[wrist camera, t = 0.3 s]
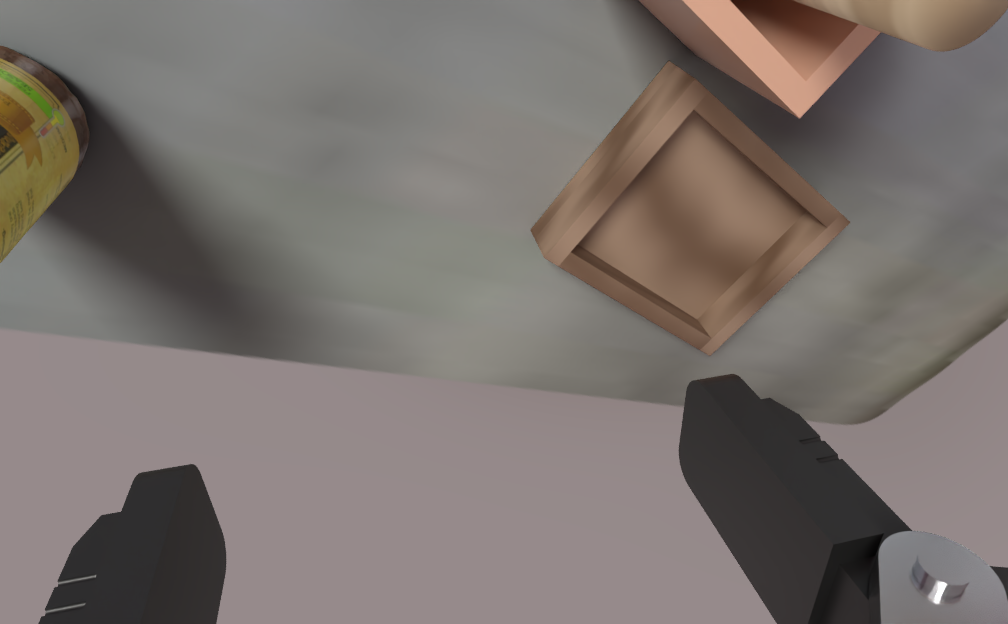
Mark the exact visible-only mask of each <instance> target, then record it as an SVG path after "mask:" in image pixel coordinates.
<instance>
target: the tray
mask: <svg viewBox="0 0 1008 624" xmlns="http://www.w3.org/2000/svg"><path fill="white" fill-rule="evenodd" d="M849 223H850V221H848V220H847V219H846V218H845V217H844V216H843V215H842V214H841V213H840V212H839V211H838V210H837V209H836V208H834V207H833V206H832V205H831V204H830V203H829V202H828V201H827V200H826V199H825V198H824V197H823V196H822V195H820V194H819V193H818V192H817V191H816V190H815V189H814V188H813V187H812V186H811V185H810V184H809V183H807V182H806V181H805V180H804V179H803V178H802V177H801V176H800V175H799V174H798V173H797V172H796V171H795V170H793V169H792V168H791V167H790V166H789V165H788V164H787V163H786V162H785V161H784V160H783V159H782V158H781V157H779V156H778V155H777V154H776V153H775V152H774V151H773V150H772V149H771V148H770V147H769V146H768V145H767V144H765V143H764V142H763V141H762V140H761V139H760V138H759V137H758V136H757V135H756V134H755V133H754V132H752V131H751V130H750V129H749V128H748V127H747V126H746V125H745V124H744V123H743V122H742V121H741V120H740V119H738V118H737V117H736V116H735V115H734V114H733V113H732V112H731V111H730V110H729V109H728V108H727V107H726V106H724V105H723V104H722V103H721V102H720V101H719V100H718V99H717V98H716V97H715V96H714V95H713V94H711V93H710V92H709V91H708V90H707V89H706V88H705V87H704V86H703V85H702V84H701V83H700V82H699V81H697V80H696V79H695V78H694V77H692V76H691V75H689V74H688V73H686V72H685V71H683V70H682V69H680V68H679V67H677V66H676V65H674V64H673V63H671V62H670V61H668V62H667V63H666V64H665V66H664V67H663V68H662V69H661V71H660V72H659V73H658V74H657V76H656V77H655V78H654V79H653V80H652V82H651V83H650V84H649V85H648V87H647V88H646V89H645V90H644V91H643V93H642V94H641V95H640V96H639V98H638V99H637V100H636V101H635V102H634V104H633V105H632V106H631V107H630V109H629V110H628V111H627V112H626V113H625V115H624V116H623V117H622V118H621V120H620V121H619V122H618V123H617V125H616V126H615V127H614V128H613V129H612V131H611V132H610V133H609V134H608V136H607V137H606V138H605V139H604V140H603V142H602V143H601V144H600V145H599V147H598V148H597V149H596V150H595V151H594V153H593V154H592V155H591V156H590V158H589V159H588V160H587V161H586V163H585V164H584V165H583V166H582V167H581V169H580V170H579V171H578V172H577V174H576V175H575V176H574V177H573V178H572V180H571V181H570V182H569V183H568V185H567V186H566V187H565V188H564V189H563V191H562V192H561V193H560V194H559V196H558V197H557V198H556V199H555V200H554V202H553V203H552V204H551V205H550V207H549V208H548V209H547V210H546V212H545V213H544V214H543V215H542V216H541V218H540V219H539V220H538V221H537V223H536V224H535V225H534V226H533V227H532V229H531V232H532V234H533V236H534V238H535V240H536V242H537V244H538V246H539V248H540V250H541V252H542V254H543V256H544V258H545V259H547V260H549V261H550V262H552V263H554V264H555V265H557V266H559V267H560V268H562V269H564V270H566V271H567V272H569V273H571V274H572V275H574V276H576V277H577V278H579V279H581V280H582V281H584V282H586V283H587V284H589V285H591V286H593V287H594V288H596V289H598V290H599V291H601V292H603V293H604V294H606V295H608V296H609V297H611V298H613V299H615V300H616V301H618V302H620V303H621V304H623V305H625V306H626V307H628V308H630V309H631V310H633V311H635V312H636V313H638V314H640V315H642V316H643V317H645V318H647V319H648V320H650V321H652V322H653V323H655V324H657V325H658V326H660V327H662V328H663V329H665V330H667V331H669V332H670V333H672V334H674V335H675V336H677V337H679V338H680V339H682V340H684V341H685V342H687V343H689V344H690V345H692V346H694V347H696V348H697V349H699V350H701V351H702V352H704V353H706V354H707V355H709V356H710V355H711V354H712V353H714V352H715V351H716V350H717V349H718V348H719V347H720V346H721V345H722V344H723V343H724V342H725V341H726V340H727V339H728V338H729V337H730V336H731V335H732V334H734V333H735V332H736V331H737V330H738V329H739V328H740V327H741V326H742V325H743V324H744V323H745V322H746V321H747V320H748V319H749V318H750V317H751V316H752V315H754V314H755V313H756V312H757V311H758V310H759V309H760V308H761V307H762V306H763V305H764V304H765V303H766V302H767V301H768V300H769V299H770V298H771V297H772V296H774V295H775V294H776V293H777V292H778V291H779V290H780V289H781V288H782V287H783V286H784V285H785V284H786V283H787V282H788V281H789V280H790V279H791V278H792V277H794V276H795V275H796V274H797V273H798V272H799V271H800V270H801V269H802V268H803V267H804V266H805V265H806V264H807V263H808V262H809V261H810V260H811V259H812V258H814V257H815V256H816V255H817V254H818V253H819V252H820V251H821V250H822V249H823V248H824V247H825V246H826V245H827V244H828V243H829V242H830V241H831V240H832V239H834V238H835V237H836V236H837V235H838V234H839V233H840V232H841V231H842V230H843V229H844V228H845V227H846V226H847V225H848V224H849Z"/></svg>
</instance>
